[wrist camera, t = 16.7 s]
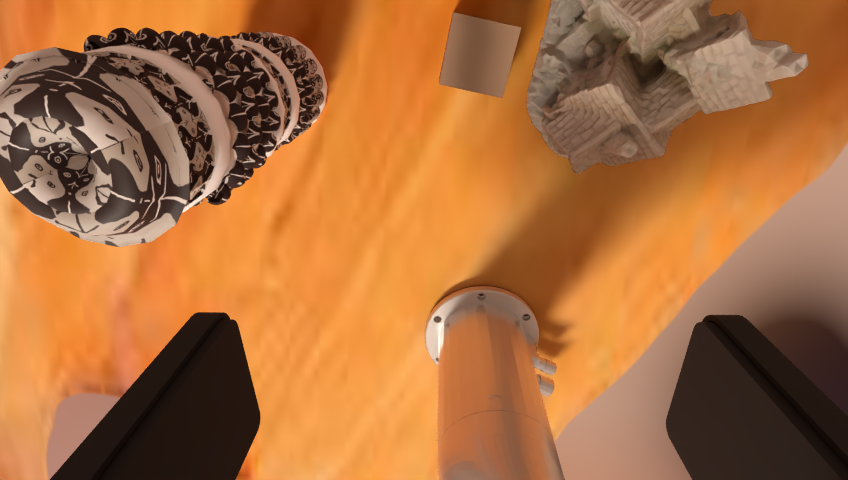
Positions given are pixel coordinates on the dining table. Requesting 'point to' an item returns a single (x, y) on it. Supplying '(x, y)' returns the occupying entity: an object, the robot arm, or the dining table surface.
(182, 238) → the dining table surface
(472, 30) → the walnut block
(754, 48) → the ceramic cottage
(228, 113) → the decorative candle
